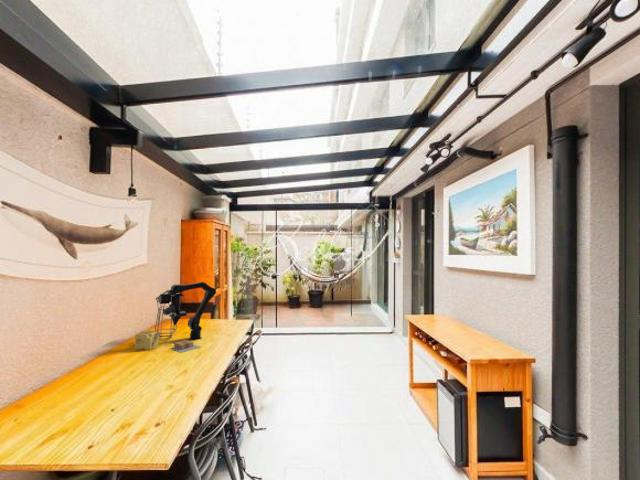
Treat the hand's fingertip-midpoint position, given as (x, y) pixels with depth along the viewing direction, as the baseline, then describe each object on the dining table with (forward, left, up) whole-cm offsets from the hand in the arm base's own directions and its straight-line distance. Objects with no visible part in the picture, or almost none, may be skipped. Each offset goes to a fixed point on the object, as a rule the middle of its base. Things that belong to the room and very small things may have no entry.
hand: (174, 325), depth 215 cm
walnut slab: (+3, +11, -10) cm, 15 cm away
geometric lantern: (-4, -16, -12) cm, 21 cm away
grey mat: (+3, +18, -12) cm, 22 cm away
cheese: (+17, -4, -12) cm, 21 cm away
